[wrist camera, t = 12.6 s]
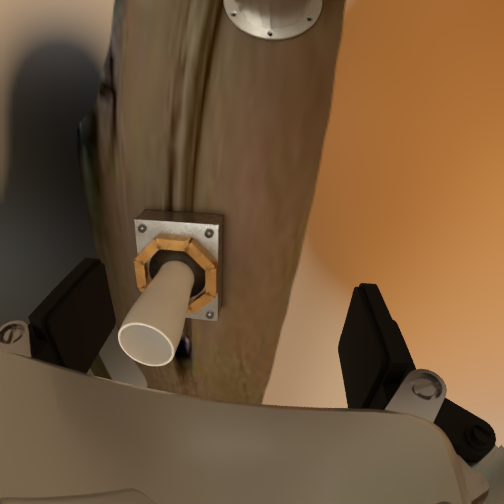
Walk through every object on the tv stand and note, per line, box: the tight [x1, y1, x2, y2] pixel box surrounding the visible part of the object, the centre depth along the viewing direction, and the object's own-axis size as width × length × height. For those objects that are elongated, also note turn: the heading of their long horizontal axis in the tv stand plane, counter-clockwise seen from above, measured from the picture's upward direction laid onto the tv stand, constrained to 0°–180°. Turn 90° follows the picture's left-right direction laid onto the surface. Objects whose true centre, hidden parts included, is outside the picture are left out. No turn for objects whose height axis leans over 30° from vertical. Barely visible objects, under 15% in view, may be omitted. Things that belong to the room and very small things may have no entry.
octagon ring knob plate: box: [134, 210, 223, 321], centre depth 47 cm, size 16×12×6 cm
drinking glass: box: [118, 260, 195, 366], centre depth 39 cm, size 7×7×15 cm
